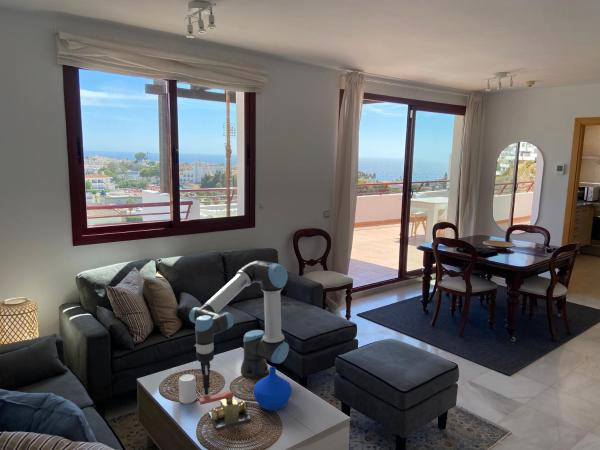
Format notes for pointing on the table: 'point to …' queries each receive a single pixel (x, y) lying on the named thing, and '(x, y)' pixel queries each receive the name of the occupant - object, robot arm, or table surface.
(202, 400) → the lever
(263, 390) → the vase
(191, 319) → the robot arm
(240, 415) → the valve fixture
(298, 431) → the table surface
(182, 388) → the white cylindrical piece
